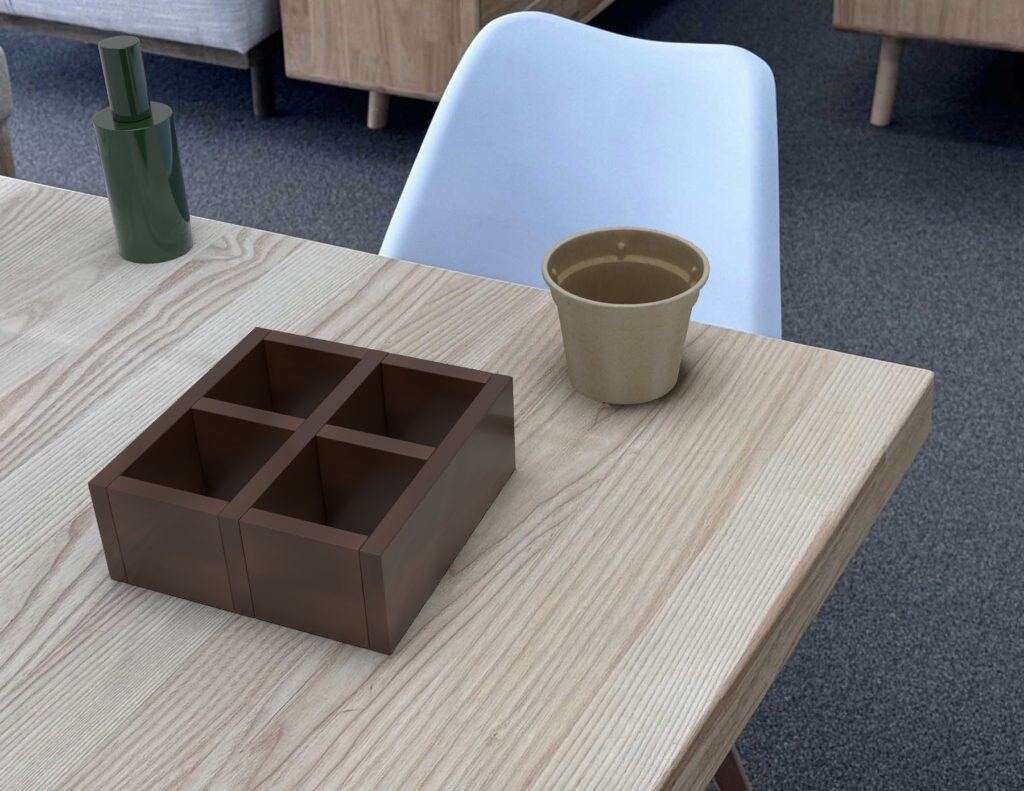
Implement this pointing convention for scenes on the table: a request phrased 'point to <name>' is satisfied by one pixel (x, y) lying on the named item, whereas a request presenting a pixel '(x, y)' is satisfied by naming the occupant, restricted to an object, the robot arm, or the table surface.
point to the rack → (310, 485)
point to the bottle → (140, 161)
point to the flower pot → (624, 308)
